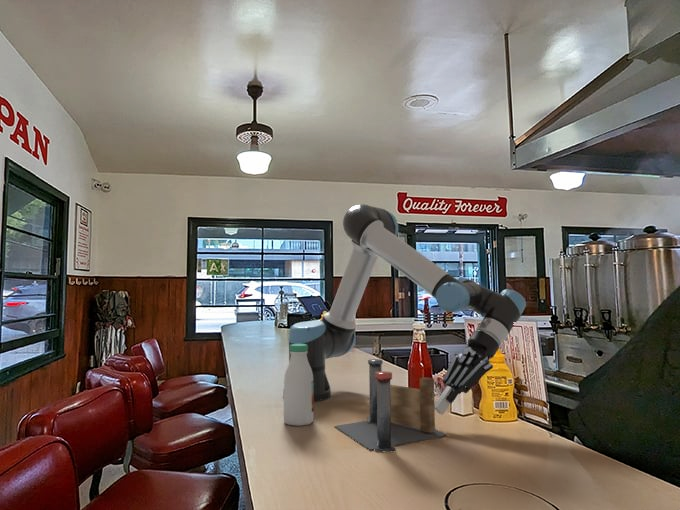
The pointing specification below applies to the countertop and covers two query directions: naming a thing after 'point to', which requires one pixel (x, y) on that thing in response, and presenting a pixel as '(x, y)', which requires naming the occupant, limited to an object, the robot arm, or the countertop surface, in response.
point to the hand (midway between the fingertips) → (437, 410)
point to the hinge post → (373, 388)
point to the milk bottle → (298, 388)
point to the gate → (414, 405)
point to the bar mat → (399, 433)
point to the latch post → (383, 412)
